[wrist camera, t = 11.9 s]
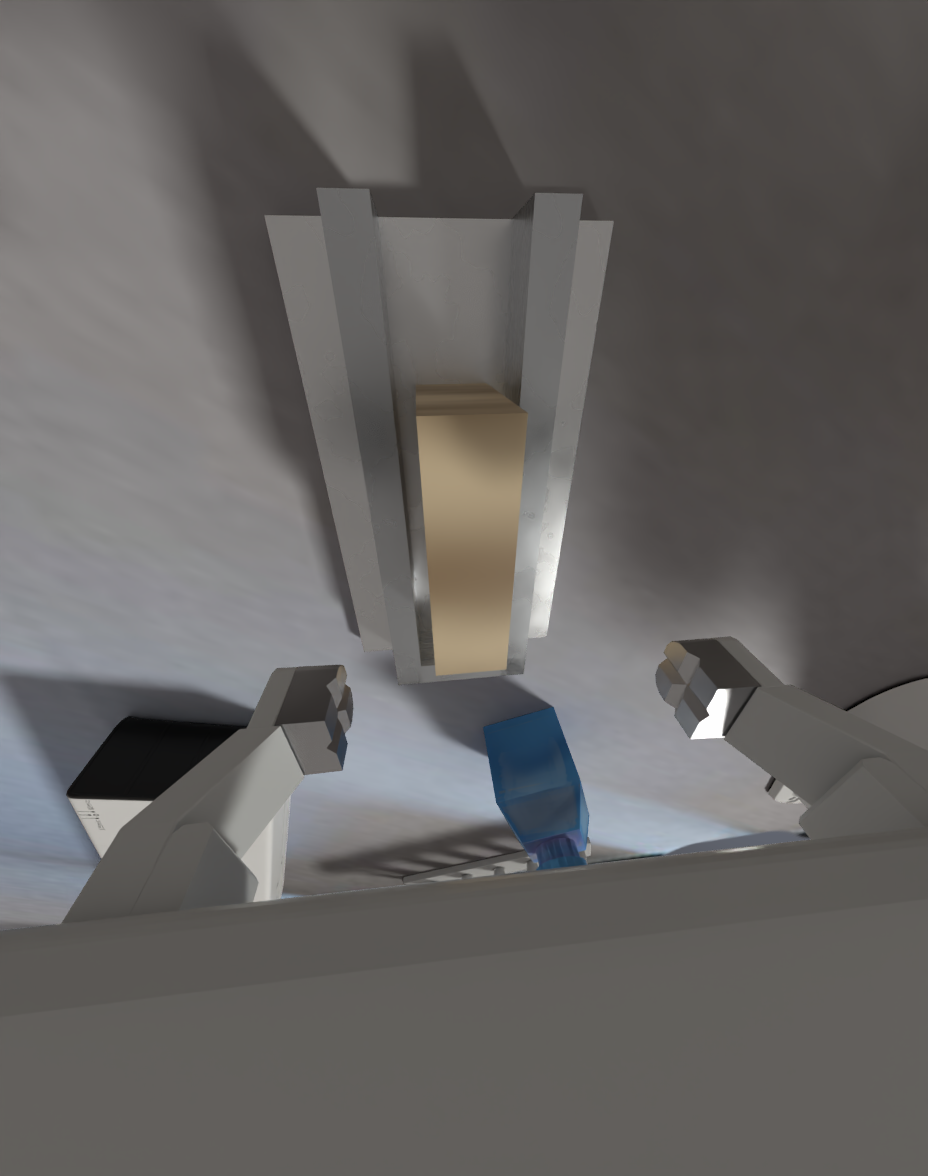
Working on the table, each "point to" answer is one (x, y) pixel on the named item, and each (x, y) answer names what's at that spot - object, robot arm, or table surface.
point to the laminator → (164, 788)
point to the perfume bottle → (539, 788)
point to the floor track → (438, 356)
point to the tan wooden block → (470, 519)
